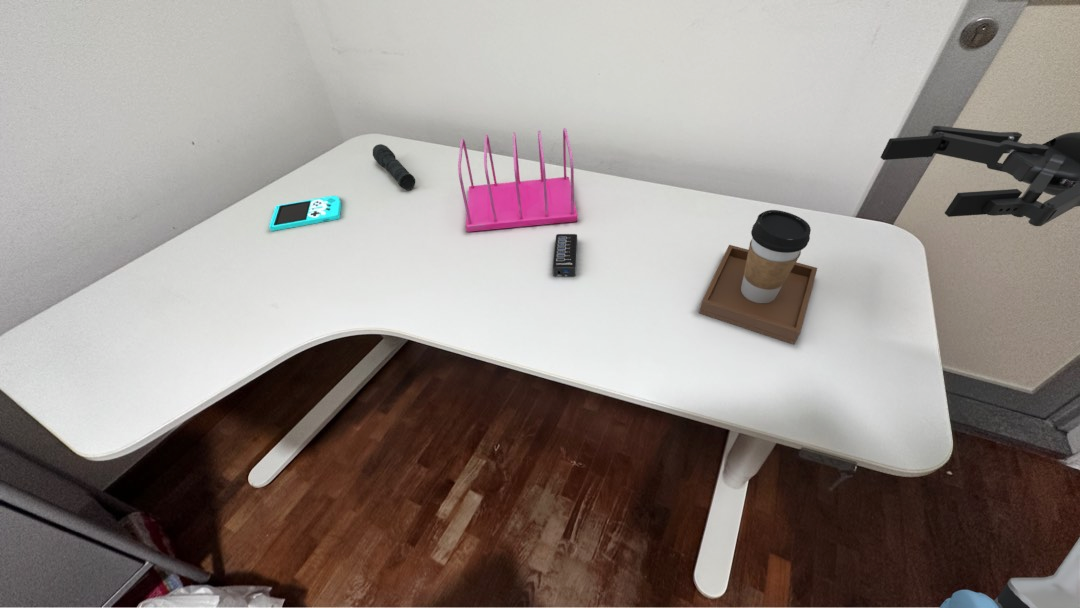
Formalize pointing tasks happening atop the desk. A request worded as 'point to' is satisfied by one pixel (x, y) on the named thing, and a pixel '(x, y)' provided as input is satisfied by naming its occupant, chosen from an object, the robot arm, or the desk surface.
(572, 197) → the file sorter
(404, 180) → the flashlight
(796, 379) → the desk surface
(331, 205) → the handheld game console
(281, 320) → the desk surface
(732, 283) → the tray
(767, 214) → the coffee cup
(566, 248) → the multiport hub
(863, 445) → the desk surface
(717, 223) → the desk surface
